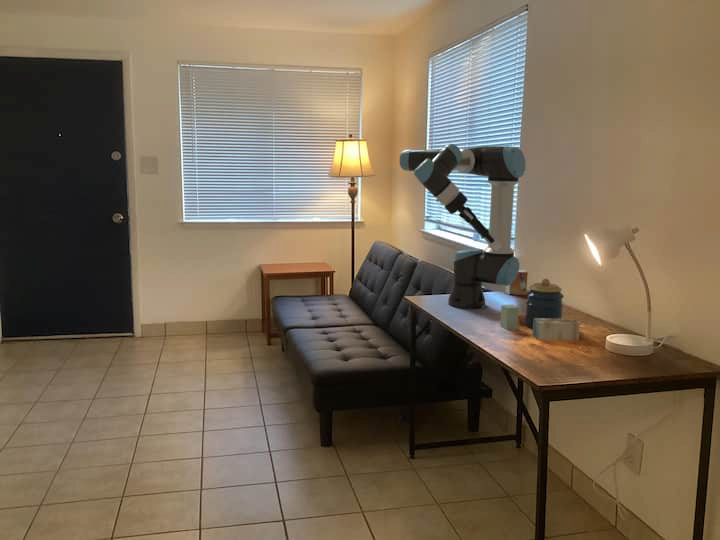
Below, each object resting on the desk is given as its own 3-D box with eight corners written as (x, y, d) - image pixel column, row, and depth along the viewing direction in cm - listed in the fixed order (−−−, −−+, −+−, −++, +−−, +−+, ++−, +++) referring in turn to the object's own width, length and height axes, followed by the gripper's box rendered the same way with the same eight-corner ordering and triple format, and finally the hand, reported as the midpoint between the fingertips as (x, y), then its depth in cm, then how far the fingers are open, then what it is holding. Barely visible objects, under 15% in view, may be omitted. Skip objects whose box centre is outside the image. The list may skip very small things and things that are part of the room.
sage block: (500, 326, 230) (501, 305, 229) (511, 325, 231) (512, 304, 230) (506, 329, 226) (507, 308, 224) (517, 329, 227) (518, 307, 226)
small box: (509, 295, 284) (510, 271, 282) (505, 292, 289) (506, 269, 287) (526, 295, 284) (528, 271, 282) (522, 292, 290) (523, 269, 288)
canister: (555, 332, 223) (559, 283, 220) (519, 327, 230) (522, 279, 227) (565, 325, 233) (569, 278, 230) (531, 319, 240) (534, 274, 237)
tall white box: (533, 318, 219) (573, 318, 219) (532, 335, 220) (572, 335, 220) (538, 322, 213) (580, 323, 213) (537, 339, 214) (578, 340, 214)
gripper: (440, 204, 219) (486, 253, 222) (446, 207, 206) (494, 259, 209) (456, 189, 218) (502, 238, 221) (463, 191, 205) (511, 243, 208)
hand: (498, 248), depth 215 cm, fingers closed
